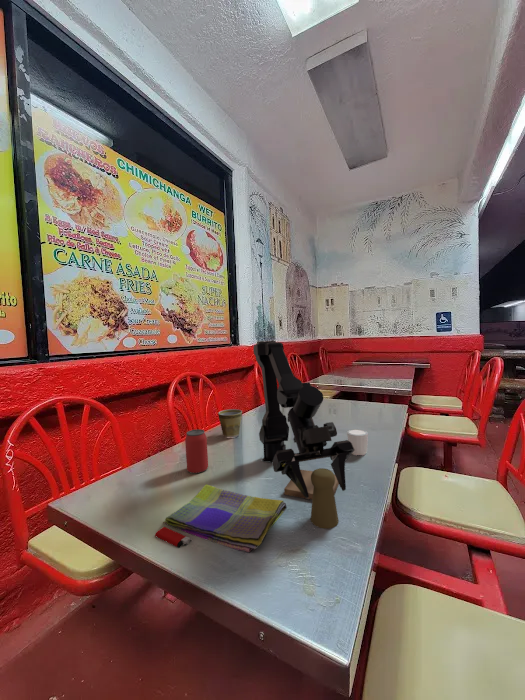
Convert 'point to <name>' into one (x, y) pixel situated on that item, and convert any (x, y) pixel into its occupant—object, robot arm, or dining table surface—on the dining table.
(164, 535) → the lighter
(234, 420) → the ceramic cup
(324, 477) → the olive brown peg figure
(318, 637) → the dining table surface
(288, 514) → the dining table surface
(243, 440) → the dining table surface
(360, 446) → the white cylinder
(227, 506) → the dish towel
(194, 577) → the dining table surface
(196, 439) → the beer can
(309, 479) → the walnut board
